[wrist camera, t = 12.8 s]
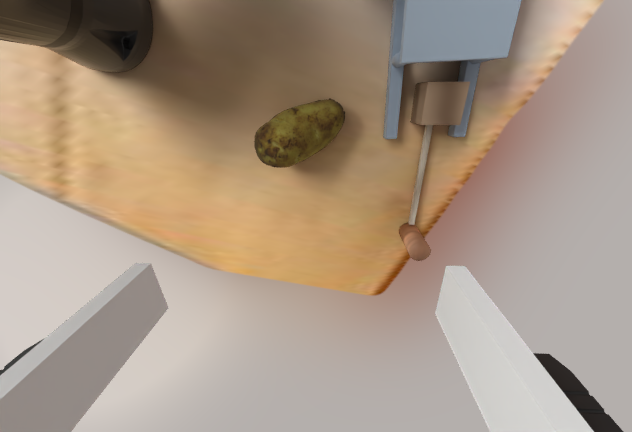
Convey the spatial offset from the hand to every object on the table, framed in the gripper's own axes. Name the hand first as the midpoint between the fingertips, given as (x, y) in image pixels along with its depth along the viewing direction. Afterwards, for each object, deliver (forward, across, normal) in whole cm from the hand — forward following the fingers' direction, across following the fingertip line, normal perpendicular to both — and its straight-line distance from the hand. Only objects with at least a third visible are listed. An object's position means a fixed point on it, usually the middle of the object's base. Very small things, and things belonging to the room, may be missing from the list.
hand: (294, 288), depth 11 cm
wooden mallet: (+32, +15, -4) cm, 35 cm away
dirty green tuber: (+32, -3, +3) cm, 32 cm away
